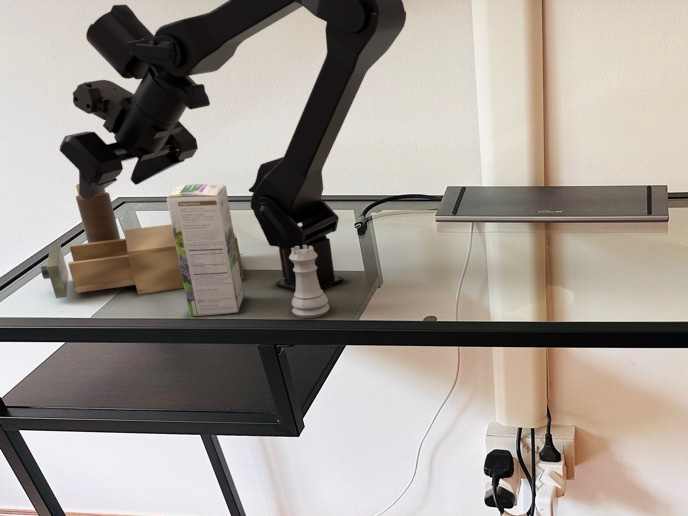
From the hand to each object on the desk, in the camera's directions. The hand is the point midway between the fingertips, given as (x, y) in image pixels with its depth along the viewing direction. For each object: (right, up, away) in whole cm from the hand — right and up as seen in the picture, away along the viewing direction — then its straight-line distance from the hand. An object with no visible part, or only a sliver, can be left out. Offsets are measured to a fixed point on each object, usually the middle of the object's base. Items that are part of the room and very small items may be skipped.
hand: (109, 189), depth 113 cm
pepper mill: (-3, -9, +6) cm, 11 cm away
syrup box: (+19, -18, -11) cm, 28 cm away
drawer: (+1, -13, -4) cm, 14 cm away
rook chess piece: (+31, -18, -13) cm, 38 cm away
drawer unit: (+11, -12, 0) cm, 16 cm away
